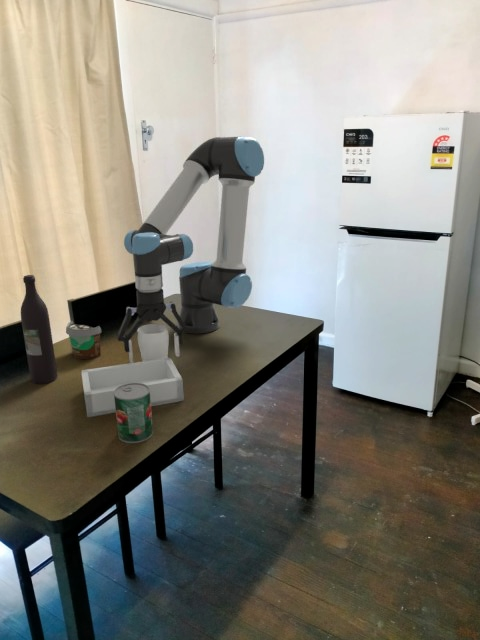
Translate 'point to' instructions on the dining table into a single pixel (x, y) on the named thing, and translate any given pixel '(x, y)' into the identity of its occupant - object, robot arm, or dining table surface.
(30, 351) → the wine bottle
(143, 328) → the cup
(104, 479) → the dining table surface
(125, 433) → the canned tomato
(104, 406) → the bin
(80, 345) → the food container
